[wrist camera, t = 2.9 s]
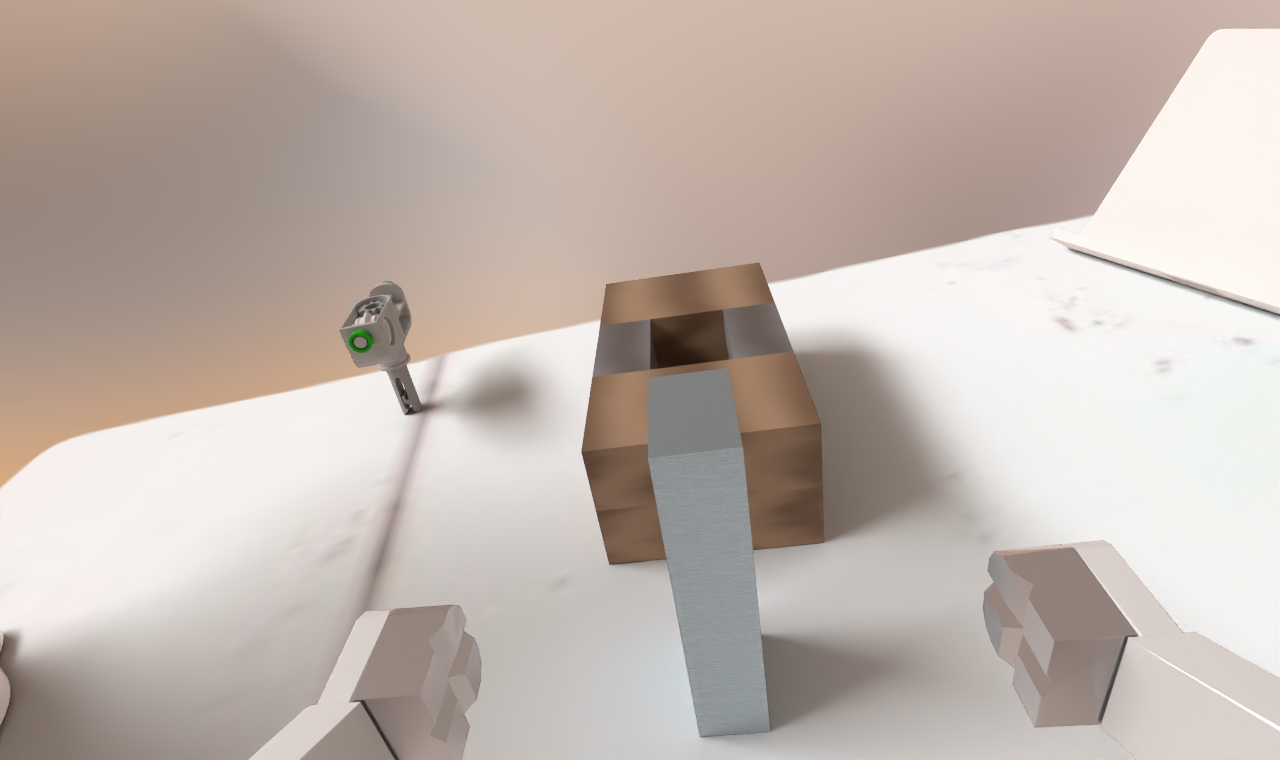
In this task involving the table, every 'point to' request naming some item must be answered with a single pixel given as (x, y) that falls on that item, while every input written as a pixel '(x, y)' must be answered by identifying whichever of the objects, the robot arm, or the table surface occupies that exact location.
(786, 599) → the table surface
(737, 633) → the tall rectangular metal block
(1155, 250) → the tablet stand
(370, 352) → the mechanical component
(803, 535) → the brown boxy piece
